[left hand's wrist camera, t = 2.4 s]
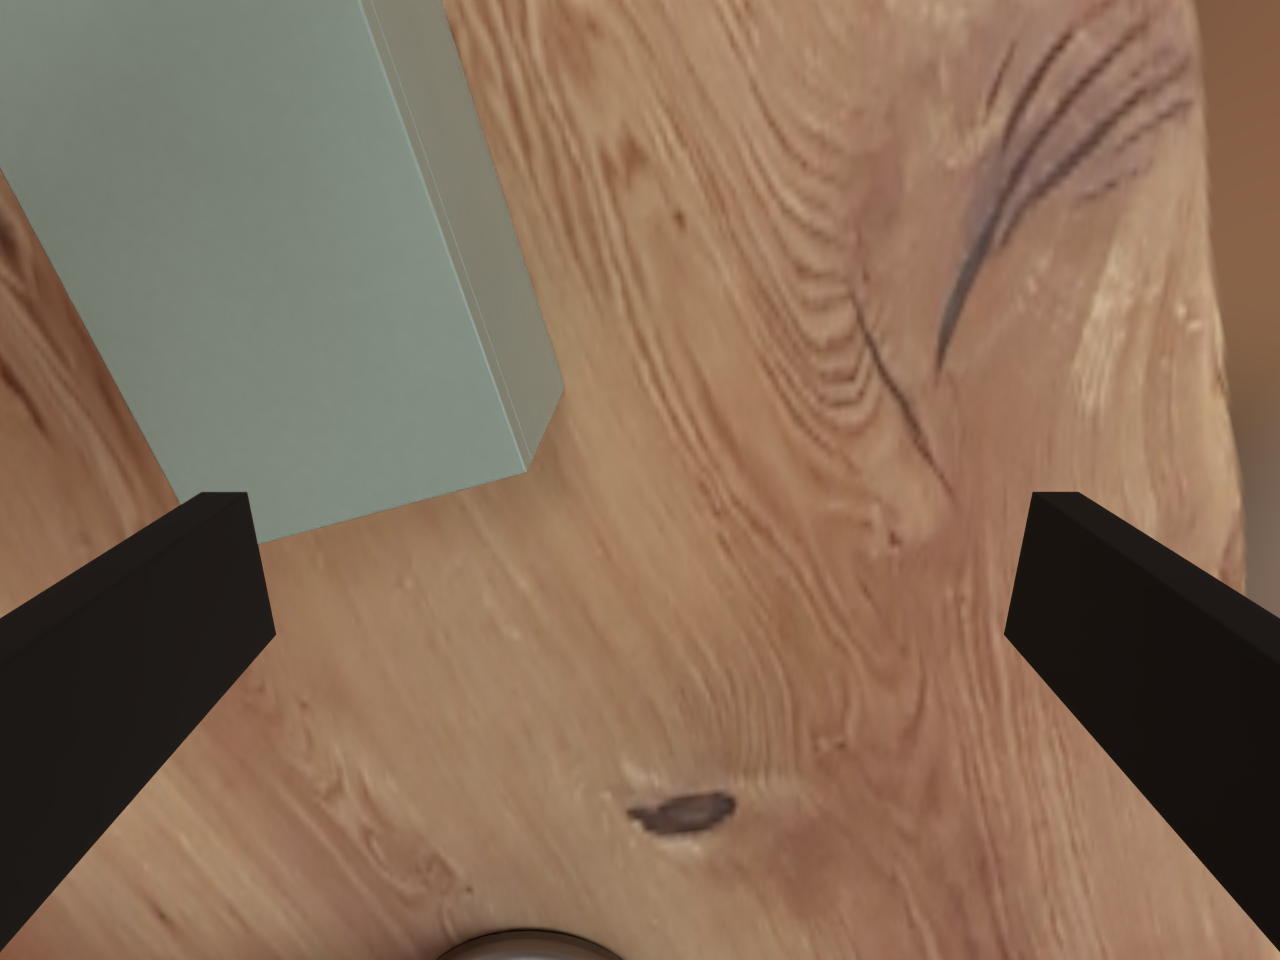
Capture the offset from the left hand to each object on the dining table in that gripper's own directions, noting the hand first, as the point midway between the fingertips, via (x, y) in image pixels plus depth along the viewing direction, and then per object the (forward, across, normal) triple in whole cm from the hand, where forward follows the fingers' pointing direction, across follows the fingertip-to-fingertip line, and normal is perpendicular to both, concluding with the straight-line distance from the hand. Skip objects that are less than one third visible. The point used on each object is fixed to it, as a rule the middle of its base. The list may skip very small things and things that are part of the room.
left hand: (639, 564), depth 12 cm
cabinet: (+20, +10, -6) cm, 23 cm away
